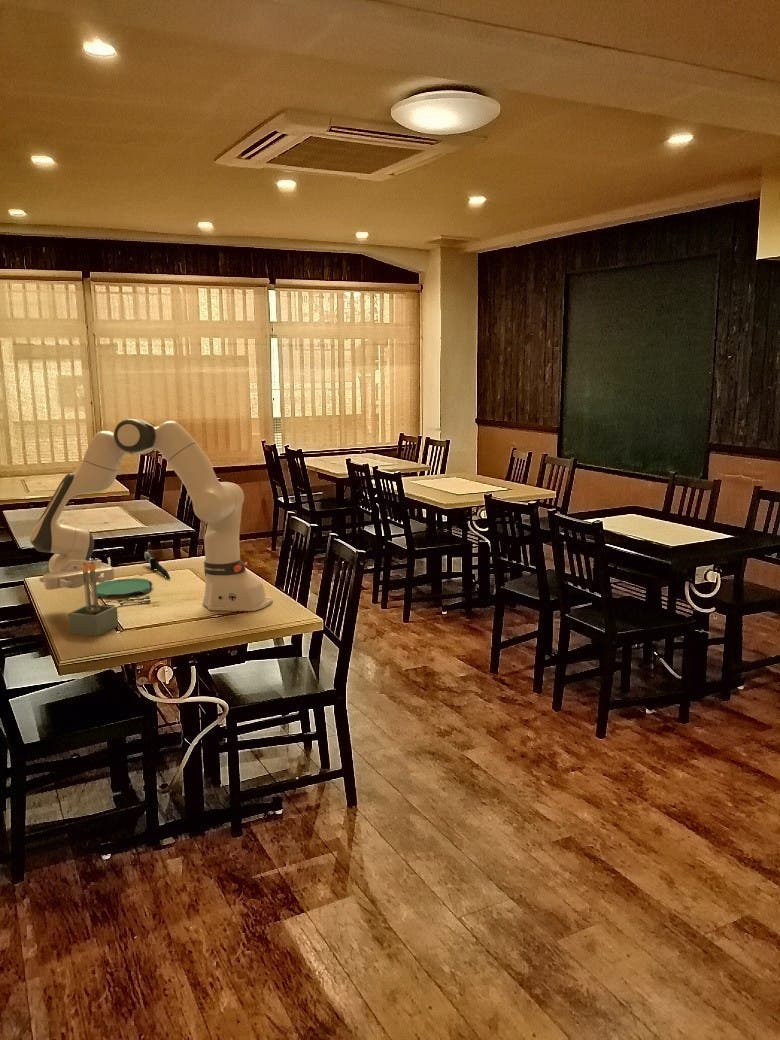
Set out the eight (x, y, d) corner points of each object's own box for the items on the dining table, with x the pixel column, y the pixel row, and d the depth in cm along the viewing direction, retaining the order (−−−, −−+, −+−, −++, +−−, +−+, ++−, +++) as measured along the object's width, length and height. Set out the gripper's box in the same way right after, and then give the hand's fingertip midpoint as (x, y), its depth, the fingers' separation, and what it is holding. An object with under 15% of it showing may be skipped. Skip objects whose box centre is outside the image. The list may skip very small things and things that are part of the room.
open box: (118, 625, 239) (116, 606, 238) (97, 636, 230) (96, 616, 229) (91, 623, 242) (89, 604, 240) (69, 633, 233) (68, 613, 231)
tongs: (99, 623, 238) (93, 561, 235) (103, 626, 235) (97, 563, 232) (85, 625, 236) (79, 563, 233) (89, 629, 233) (82, 565, 229)
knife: (143, 561, 315) (143, 550, 314) (151, 559, 317) (150, 549, 315) (163, 586, 290) (162, 574, 288) (171, 585, 291) (171, 573, 290)
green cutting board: (150, 581, 290) (150, 575, 290) (157, 604, 262) (156, 598, 262) (92, 587, 283) (92, 581, 283) (93, 612, 256) (92, 605, 255)
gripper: (36, 568, 241) (47, 577, 230) (105, 558, 253) (119, 567, 242) (38, 588, 242) (49, 598, 231) (106, 578, 254) (120, 587, 243)
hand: (85, 582), depth 237 cm, fingers open, 8 cm apart
